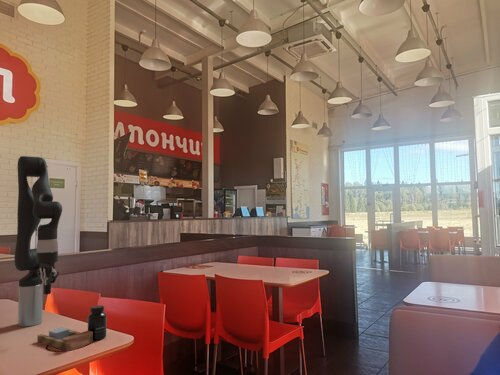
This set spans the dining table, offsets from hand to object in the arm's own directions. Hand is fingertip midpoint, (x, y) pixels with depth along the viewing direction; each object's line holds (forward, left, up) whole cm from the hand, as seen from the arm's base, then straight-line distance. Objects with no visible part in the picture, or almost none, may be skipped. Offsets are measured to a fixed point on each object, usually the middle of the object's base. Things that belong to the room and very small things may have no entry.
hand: (47, 294), depth 147 cm
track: (+12, 0, -17) cm, 21 cm away
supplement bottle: (+19, +9, -17) cm, 27 cm away
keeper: (+8, 0, -17) cm, 19 cm away
